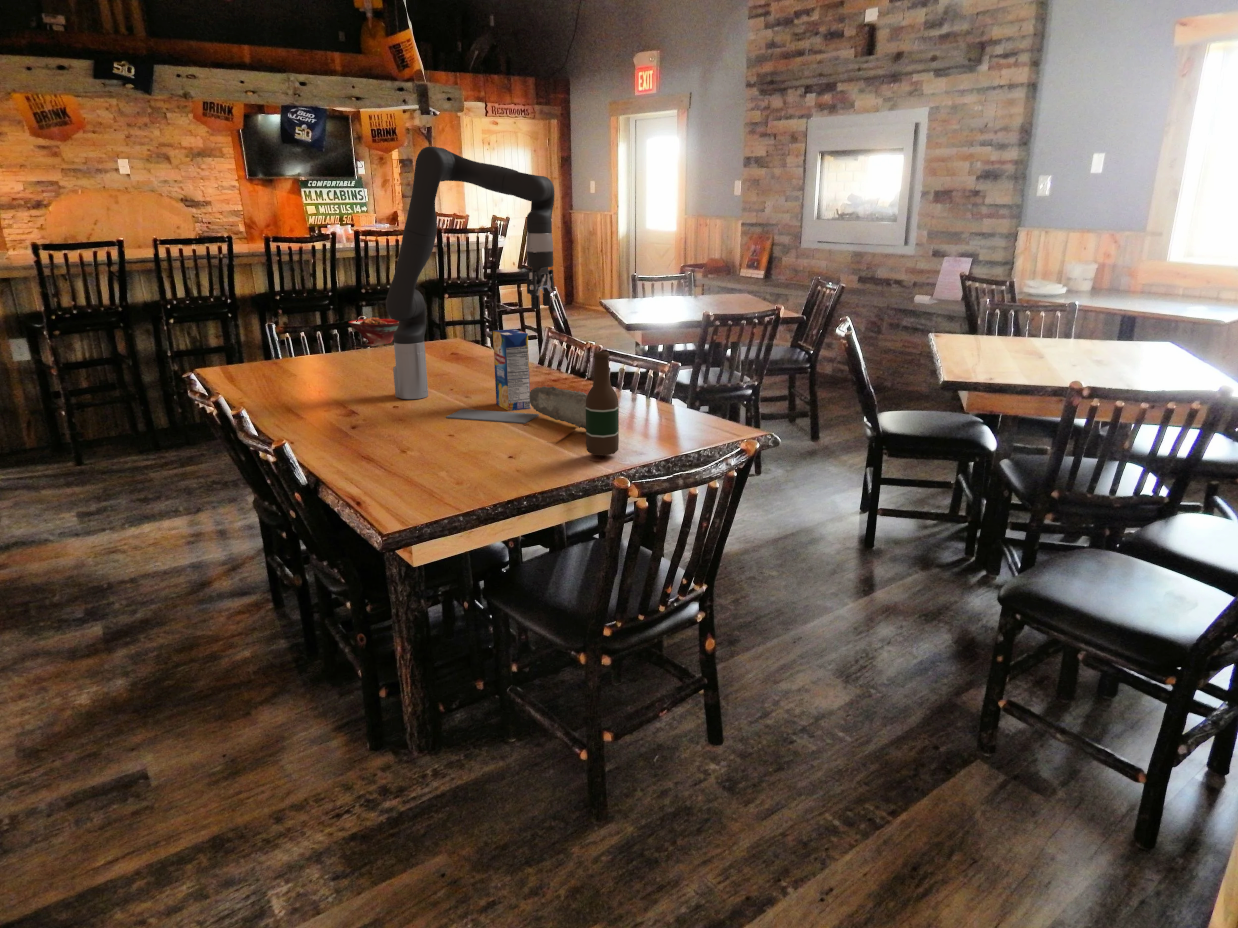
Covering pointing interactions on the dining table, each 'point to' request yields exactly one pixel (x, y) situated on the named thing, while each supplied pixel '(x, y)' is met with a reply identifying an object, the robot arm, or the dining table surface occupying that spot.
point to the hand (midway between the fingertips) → (541, 307)
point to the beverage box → (511, 369)
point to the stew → (375, 330)
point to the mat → (493, 416)
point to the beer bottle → (602, 410)
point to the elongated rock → (560, 404)
